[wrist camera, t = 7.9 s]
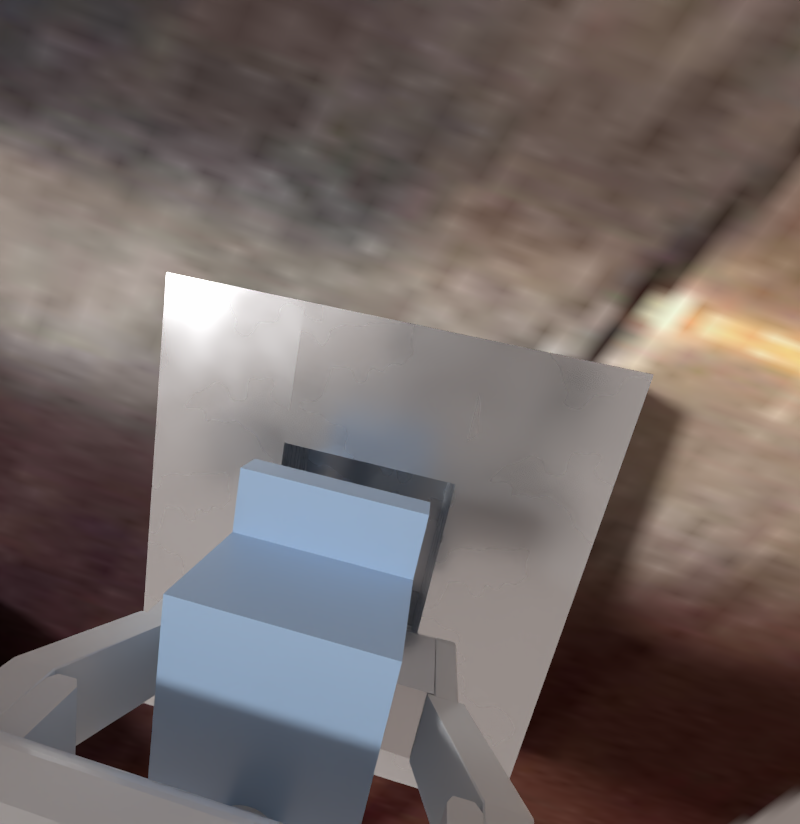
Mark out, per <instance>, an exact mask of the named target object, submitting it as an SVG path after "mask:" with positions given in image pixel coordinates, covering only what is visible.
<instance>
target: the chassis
mask: <svg viewBox="0 0 800 824" xmlns="http://www.w3.org/2000/svg"><path fill="white" fill-rule="evenodd" d="M652 378H653V374H648V373H643V372H639V371H634V370H629V369H624V368H620V367H615V366H610V365H605V364H601V363H596V362H591V361H586V360H582V359H577V358H572V357H567V356H563V355H558V354H553V353H548V352H544V351H539V350H534V349H529V348H525V347H520V346H515V345H510V344H506V343H501V342H496V341H491V340H487V339H482V338H477V337H472V336H468V335H463V334H458V333H453V332H449V331H444V330H439V329H434V328H430V327H425V326H420V325H415V324H411V323H406V322H401V321H396V320H392V319H387V318H382V317H377V316H373V315H368V314H363V313H358V312H354V311H349V310H344V309H340V308H335V307H330V306H325V305H321V304H316V303H311V302H306V301H302V300H297V299H292V298H287V297H283V296H278V295H273V294H268V293H264V292H259V291H254V290H249V289H245V288H240V287H235V286H230V285H226V284H221V283H216V282H211V281H207V280H202V279H197V278H192V277H188V276H183V275H178V274H173V273H169V272H166V283H165V298H164V313H163V328H162V344H161V359H160V374H159V389H158V404H157V419H156V434H155V449H154V464H153V479H152V494H151V509H150V524H149V540H148V555H147V570H146V585H145V600H144V612H148V611H149V610H150V609H151V608H152V607H153V606H155V605H156V604H157V603H158V602H159V601H160V600H161V599H162V598H163V594H164V593H165V592H166V591H167V590H168V589H169V588H170V587H172V586H173V585H174V584H175V583H176V582H177V581H178V580H179V579H181V578H182V577H183V576H184V575H185V574H186V573H187V572H188V571H189V570H191V569H192V568H193V567H194V566H195V565H196V564H197V563H198V562H199V561H201V560H202V559H203V558H204V557H205V556H206V555H207V554H208V553H210V552H211V551H212V550H213V549H214V548H215V547H216V546H217V545H218V544H220V543H221V542H222V541H223V540H224V539H225V538H226V537H227V536H229V535H230V534H231V533H232V532H233V524H234V516H235V507H236V499H237V491H238V483H239V475H240V468H241V467H242V466H244V465H246V464H247V463H249V462H250V461H252V460H254V459H258V460H262V461H266V462H270V463H275V464H279V465H283V466H287V467H291V468H295V469H299V470H303V471H307V472H311V473H315V474H319V475H323V476H327V477H331V478H335V479H339V480H343V481H347V482H351V483H355V484H359V485H363V486H367V487H371V488H375V489H379V490H383V491H387V492H391V493H395V494H399V495H403V496H407V497H411V498H415V499H419V500H423V501H427V502H430V511H429V518H428V522H427V526H426V530H425V534H424V538H423V542H422V546H421V550H420V554H419V558H418V562H417V566H416V570H415V574H414V578H413V585H412V592H411V599H410V607H409V614H408V622H407V629H406V630H408V631H412V632H415V633H419V634H423V635H427V636H430V637H434V638H439V639H443V640H447V641H451V642H454V643H455V645H456V658H457V684H458V703H461V704H464V705H465V706H466V708H467V710H468V711H469V713H470V715H471V716H472V718H473V720H474V721H475V723H476V725H477V726H478V728H479V730H480V731H481V733H482V734H483V736H484V738H485V739H486V741H487V743H488V744H489V746H490V748H491V749H492V751H493V753H494V754H495V756H496V758H497V759H498V761H499V763H500V764H501V766H502V768H503V769H504V771H505V773H506V774H507V776H508V778H510V775H511V773H512V770H513V767H514V764H515V761H516V759H517V756H518V753H519V750H520V747H521V745H522V742H523V739H524V736H525V733H526V731H527V728H528V725H529V722H530V719H531V717H532V714H533V711H534V708H535V705H536V703H537V700H538V697H539V694H540V691H541V689H542V686H543V683H544V680H545V677H546V675H547V672H548V669H549V666H550V663H551V661H552V658H553V655H554V652H555V649H556V647H557V644H558V641H559V638H560V635H561V633H562V630H563V627H564V624H565V621H566V619H567V616H568V613H569V610H570V607H571V605H572V602H573V599H574V596H575V593H576V591H577V588H578V585H579V582H580V579H581V577H582V574H583V571H584V568H585V565H586V563H587V560H588V557H589V554H590V551H591V549H592V546H593V543H594V540H595V537H596V535H597V532H598V529H599V526H600V523H601V521H602V518H603V515H604V512H605V509H606V507H607V504H608V501H609V498H610V495H611V493H612V490H613V487H614V484H615V481H616V479H617V476H618V473H619V470H620V467H621V465H622V462H623V459H624V456H625V453H626V451H627V448H628V445H629V442H630V439H631V437H632V434H633V431H634V428H635V425H636V423H637V420H638V417H639V414H640V411H641V409H642V406H643V403H644V400H645V397H646V395H647V392H648V389H649V386H650V383H651V381H652ZM154 700H155V696H153V697H151V698H150V699H148V700H147V701H145V702H144V703H146V704H149V705H153V706H154ZM409 760H410V759H408V758H405V757H403V756H400V755H397V754H394V753H391V752H388V751H385V750H382V749H380V751H379V755H378V759H377V763H376V767H375V771H374V775H377V776H380V777H383V778H386V779H389V780H393V781H396V782H399V783H402V784H405V785H409V786H412V787H415V788H418V786H417V783H416V780H415V777H414V774H413V771H412V768H411V765H410V762H409Z"/></svg>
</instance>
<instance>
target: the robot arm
mask: <svg viewBox="0 0 800 824" xmlns="http://www.w3.org/2000/svg"><path fill="white" fill-rule="evenodd" d="M162 604H163V598H162V599H161V600H160V601H159V602H158V603H157V604H156V605H155V606H153V607H152V608H151V609H150V610H149V611H148V612H144V611H140V612H137V613H134V614H131V615H129V616H126V617H123V618H120V619H118V620H115V621H112V622H109V623H107V624H104V625H101V626H98V627H96V628H93V629H90V630H87V631H85V632H82V633H79V634H76V635H74V636H71V637H68V638H65V639H63V640H60V641H57V642H54V643H52V644H49V645H46V646H43V647H41V648H38V649H35V650H32V651H30V652H27V653H24V654H21V655H19V656H16V657H14V658H12V659H11V660H10V661H8V662H7V663H5V664H4V665H3V666H1V667H0V824H284V823H281V822H278V821H275V820H272V819H269V818H266V817H263V816H260V815H257V814H254V813H251V812H248V811H245V810H242V809H239V808H236V807H232V806H229V805H226V804H223V803H220V802H217V801H214V800H211V799H208V798H205V797H202V796H199V795H196V794H193V793H190V792H187V791H184V790H181V789H178V788H175V787H172V786H169V785H166V784H163V783H159V782H156V781H153V780H150V779H147V778H144V777H141V776H138V775H135V774H132V773H129V772H126V771H123V770H120V769H117V768H114V767H111V766H108V765H105V764H102V763H99V762H95V761H92V760H89V759H86V758H83V757H80V756H77V755H75V749H76V745H78V744H80V743H81V742H83V741H84V740H86V739H87V738H89V737H90V736H92V735H94V734H95V733H97V732H98V731H100V730H101V729H103V728H105V727H106V726H108V725H109V724H111V723H112V722H114V721H115V720H117V719H119V718H120V717H122V716H123V715H125V714H126V713H128V712H130V711H131V710H133V709H134V708H136V707H137V706H139V705H141V704H142V703H144V702H145V701H147V700H148V699H150V698H151V697H153V696H155V688H156V676H157V664H158V652H159V640H160V628H161V616H162ZM380 749H382V750H385V751H388V752H391V753H394V754H397V755H400V756H403V757H405V758H408V759H410V760H409V762H410V765H411V768H412V771H413V774H414V777H415V780H416V783H417V786H418V789H419V792H420V795H421V798H422V801H423V804H424V807H425V810H426V813H427V816H428V819H429V822H430V824H534V819H533V817H532V816H531V814H530V812H529V811H528V809H527V807H526V806H525V804H524V802H523V801H522V799H521V797H520V796H519V794H518V792H517V791H516V789H515V787H514V786H513V784H512V782H511V781H510V779H509V778H508V776H507V774H506V773H505V771H504V769H503V768H502V766H501V764H500V763H499V761H498V759H497V758H496V756H495V754H494V753H493V751H492V749H491V748H490V746H489V744H488V743H487V741H486V739H485V738H484V736H483V734H482V733H481V731H480V730H479V728H478V726H477V725H476V723H475V721H474V720H473V718H472V716H471V715H470V713H469V711H468V710H467V708H466V706H465V705H464V704H461V703H458V684H457V658H456V645H455V643H454V642H451V641H447V640H443V639H439V638H434V637H430V636H427V635H423V634H419V633H415V632H412V631H408V630H406V636H405V644H404V651H403V659H402V664H401V668H400V672H399V676H398V680H397V684H396V688H395V692H394V696H393V700H392V704H391V708H390V712H389V716H388V719H387V723H386V727H385V731H384V735H383V739H382V743H381V747H380Z"/></svg>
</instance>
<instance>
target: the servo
mask: <svg viewBox="0 0 800 824" xmlns="http://www.w3.org/2000/svg"><path fill="white" fill-rule="evenodd" d="M429 511H430V502H427V501H423V500H419V499H415V498H411V497H407V496H403V495H399V494H395V493H391V492H387V491H383V490H379V489H375V488H371V487H367V486H363V485H359V484H355V483H351V482H347V481H343V480H339V479H335V478H331V477H327V476H323V475H319V474H315V473H311V472H307V471H303V470H299V469H295V468H291V467H287V466H283V465H279V464H275V463H270V462H266V461H262V460H258V459H254V460H252V461H250V462H249V463H247V464H246V465H244V466H242V467H241V468H240V475H239V483H238V491H237V499H236V507H235V516H234V524H233V532H232V533H231V534H230V535H229V536H227V537H226V538H225V539H224V540H223V541H222V542H221V543H220V544H218V545H217V546H216V547H215V548H214V549H213V550H212V551H211V552H210V553H208V554H207V555H206V556H205V557H204V558H203V559H202V560H201V561H199V562H198V563H197V564H196V565H195V566H194V567H193V568H192V569H191V570H189V571H188V572H187V573H186V574H185V575H184V576H183V577H182V578H181V579H179V580H178V581H177V582H176V583H175V584H174V585H173V586H172V587H170V588H169V589H168V590H167V591H166V592H165V593H164V594H163V604H162V616H161V628H160V640H159V652H158V664H157V676H156V688H155V700H154V712H153V725H152V737H151V749H150V761H149V773H148V779H150V780H153V781H156V782H159V783H163V784H166V785H169V786H172V787H175V788H178V789H181V790H184V791H187V792H190V793H193V794H196V795H199V796H202V797H205V798H208V799H211V800H214V801H217V802H220V803H223V804H226V805H229V806H232V807H236V808H239V809H242V810H245V811H248V812H251V813H254V814H257V815H260V816H263V817H266V818H269V819H272V820H275V821H278V822H281V823H284V824H361V822H362V818H363V815H364V811H365V807H366V803H367V799H368V795H369V791H370V787H371V783H372V779H373V775H374V771H375V767H376V763H377V759H378V755H379V751H380V747H381V743H382V739H383V735H384V731H385V727H386V723H387V719H388V716H389V712H390V708H391V704H392V700H393V696H394V692H395V688H396V684H397V680H398V676H399V672H400V668H401V664H402V659H403V651H404V644H405V636H406V629H407V622H408V614H409V607H410V599H411V592H412V585H413V578H414V574H415V570H416V566H417V562H418V558H419V554H420V550H421V546H422V542H423V538H424V534H425V530H426V526H427V522H428V518H429Z"/></svg>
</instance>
